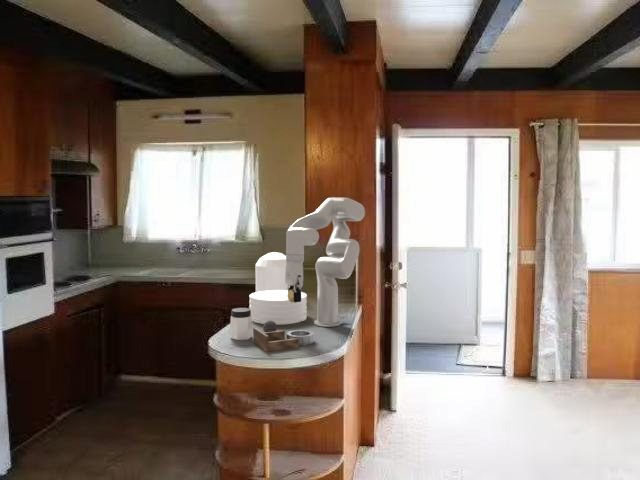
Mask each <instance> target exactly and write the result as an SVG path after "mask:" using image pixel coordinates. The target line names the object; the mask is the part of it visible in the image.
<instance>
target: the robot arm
mask: <svg viewBox="0 0 640 480" xmlns="http://www.w3.org/2000/svg"><path fill="white" fill-rule="evenodd" d="M365 216H366V210H365V207H364V205H363V204H362V203H360V202H358V201H356V200H354V199H352V198H349V197H334V196H331V197H328V198H326V199H325V200H324V201H323V202H322V203H321V204H320V206H318V208H316V209H315V211H314V212H312V213H310V214H307V215H304V216H303V217H301V218H298V219H297V220H296V221H294V223H292V225H290V227H289V228H288V229H287V230H286V233H285V234H286V237H285V238H286V239H285V241H286V243H285V244H286V245H285V247H286V248H285V256H286V271H285V283H286V284H287V285H288V292H289V291H290V290H291V289H294V291H295V292H294V302H301V292H303V291H302V289H303V287H304V265H303V263H305V262H304V261H305V246H314V245H317V243H318V242H319V239H320V235H319V232H318V230H320V229H321V230H322V229H324V228H326V227H328V226H329V225H330V224H331V223H332V225H333V229H332V232H331V235H330V237H329V240H328V242H327V245H326V247H325V253H326V255H327V256H321V257H319V258H318V259H317V260H316V262H315V264H314V265H315V273H316V274H315V275H316V282H317V297H316V299H317V305H316V306H317V310H316V311H317V314H316V315H317V316H316V317H317V319H315V320H314V321H313V323H314V325H315V326H317V327H323V328H326V327H327V328H330V327H331V328H332V327H334V328H335V327H338V326H340V325H342V321H341V320H345V319H348V315H347V314H339V310H338V309H339V305H338V304H339V297H338V296H339V287H338V283H337V281H336V279H341V280H347V279H348V278H350V277H351V275H352V274H353V271H354V268H355V265H356V263H357V261H358V258H359V255H360V244H359V242H358V241H357V240H356V239H354V238H350V237H351V230H350V227H349V226H348V225H347V223H346V222H361V221H362V220H363V219H364V217H365Z"/></svg>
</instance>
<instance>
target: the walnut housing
mask: <svg viewBox="0 0 640 480" xmlns="http://www.w3.org/2000/svg"><path fill="white" fill-rule="evenodd" d="M252 331H253V332H252V337H253V341H252V342H253V343H254V344H255V345H257V346H258V347H260V348H261V349H262V350H263V351H265V352H266V351H267V352H273V350H275V351H280V350H282V349H283V350H291V349H297V348H299V345H298V338H295V339H287V338H286V331H285V330H276V331H273V332H264V331H262V330H260V329H259V328H257V327H253V328H252Z"/></svg>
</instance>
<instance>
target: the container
mask: <svg viewBox="0 0 640 480" xmlns="http://www.w3.org/2000/svg"><path fill="white" fill-rule="evenodd" d="M254 267H255V292H259V291H267V290H288V285H287V284H286V283H285V271H286V254H284V253H282V252H276V251H273V252H268V253H266V254H264V255H263V256H261V257H259V259H257V262H256V263H255V266H254Z"/></svg>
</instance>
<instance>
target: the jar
mask: <svg viewBox="0 0 640 480" xmlns="http://www.w3.org/2000/svg"><path fill="white" fill-rule="evenodd" d="M230 311H231V316H230V339H232V340H236V341H242V340H243V341H244V340H245V341H246V340H250V339H251V338H252V337H253V332H252V331H253V328H252V327H253V321H252V315H251V309H249V307H248V308H247V307H237V308H236V307H235V308H232V309H231V310H230Z"/></svg>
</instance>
